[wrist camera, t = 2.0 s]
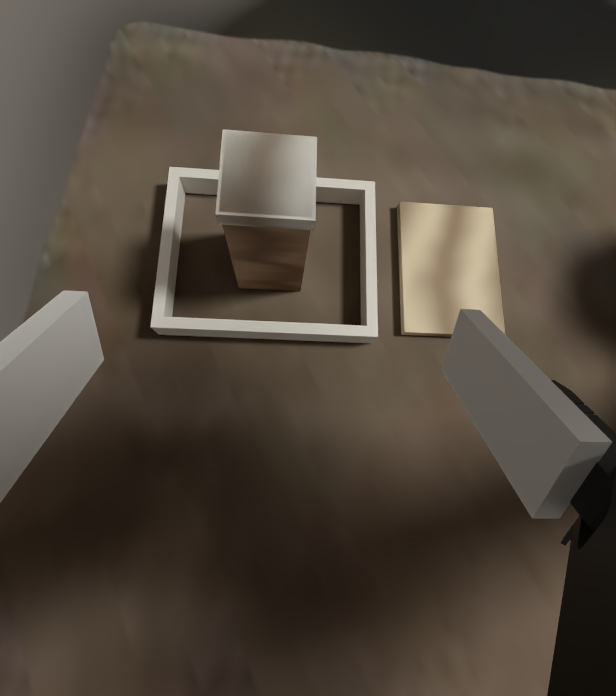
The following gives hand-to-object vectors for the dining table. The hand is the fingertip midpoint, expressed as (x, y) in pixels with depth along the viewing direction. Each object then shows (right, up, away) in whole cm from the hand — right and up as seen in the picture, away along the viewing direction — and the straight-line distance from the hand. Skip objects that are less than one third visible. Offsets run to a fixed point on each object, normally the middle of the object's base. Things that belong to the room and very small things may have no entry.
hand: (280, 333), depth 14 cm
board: (+15, +7, +25) cm, 30 cm away
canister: (-3, +8, +24) cm, 25 cm away
